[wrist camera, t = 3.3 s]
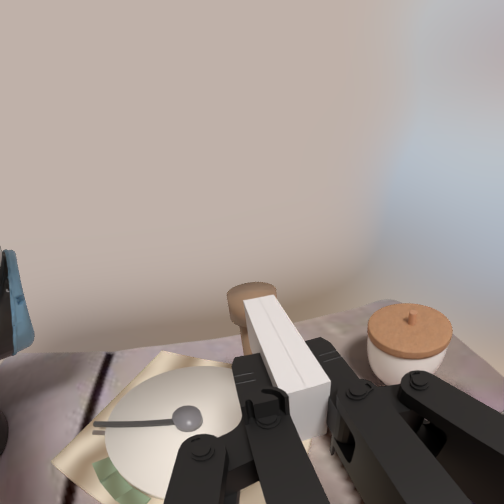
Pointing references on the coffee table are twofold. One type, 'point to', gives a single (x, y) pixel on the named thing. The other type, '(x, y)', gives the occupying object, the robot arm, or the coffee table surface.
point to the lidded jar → (406, 341)
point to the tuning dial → (176, 410)
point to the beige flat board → (96, 456)
